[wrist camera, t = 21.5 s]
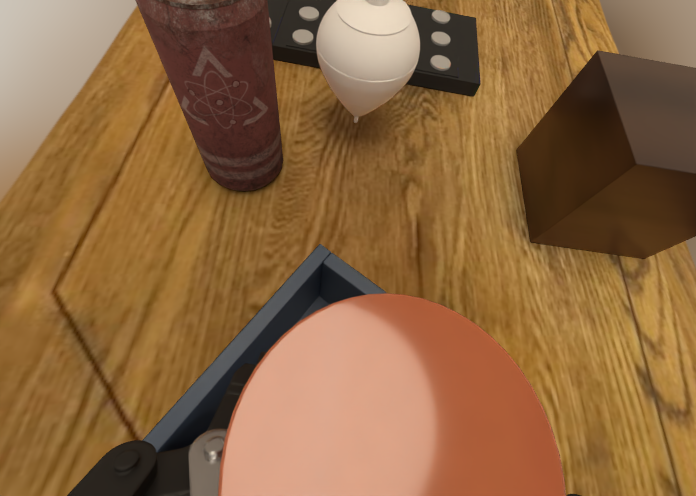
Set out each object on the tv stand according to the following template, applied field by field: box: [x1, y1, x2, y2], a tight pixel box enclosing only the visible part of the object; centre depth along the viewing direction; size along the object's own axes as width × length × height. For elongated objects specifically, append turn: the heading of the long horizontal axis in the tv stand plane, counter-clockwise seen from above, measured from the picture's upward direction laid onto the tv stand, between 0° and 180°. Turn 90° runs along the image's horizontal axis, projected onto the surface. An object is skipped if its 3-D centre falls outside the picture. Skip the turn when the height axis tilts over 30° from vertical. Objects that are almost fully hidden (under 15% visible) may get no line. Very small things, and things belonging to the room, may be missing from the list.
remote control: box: [267, 0, 480, 96], centre depth 36 cm, size 11×30×2 cm, turn 83°
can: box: [136, 0, 283, 191], centre depth 22 cm, size 6×6×14 cm
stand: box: [517, 51, 696, 259], centre depth 26 cm, size 10×10×10 cm
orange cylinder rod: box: [218, 293, 566, 496], centre depth 12 cm, size 6×6×14 cm
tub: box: [142, 244, 386, 453], centre depth 18 cm, size 13×13×7 cm
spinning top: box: [316, 0, 420, 123], centre depth 26 cm, size 8×8×12 cm
